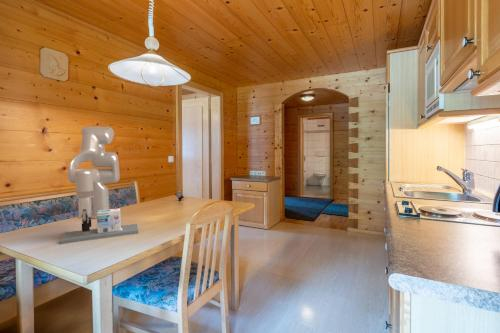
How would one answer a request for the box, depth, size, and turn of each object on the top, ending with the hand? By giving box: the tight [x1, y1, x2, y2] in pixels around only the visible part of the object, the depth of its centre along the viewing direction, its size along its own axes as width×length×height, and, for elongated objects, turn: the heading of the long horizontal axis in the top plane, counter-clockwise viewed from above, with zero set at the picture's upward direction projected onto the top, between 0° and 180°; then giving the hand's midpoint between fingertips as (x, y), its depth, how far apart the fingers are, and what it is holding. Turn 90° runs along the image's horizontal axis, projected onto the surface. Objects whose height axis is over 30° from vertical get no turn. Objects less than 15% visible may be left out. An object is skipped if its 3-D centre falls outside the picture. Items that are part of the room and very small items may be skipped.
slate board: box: [59, 223, 139, 245], centre depth 138 cm, size 14×34×2 cm, turn 116°
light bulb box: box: [96, 207, 122, 233], centre depth 139 cm, size 11×7×11 cm, turn 115°
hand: (86, 228), depth 134 cm, fingers open, 6 cm apart
